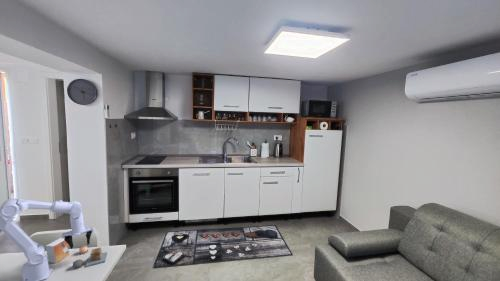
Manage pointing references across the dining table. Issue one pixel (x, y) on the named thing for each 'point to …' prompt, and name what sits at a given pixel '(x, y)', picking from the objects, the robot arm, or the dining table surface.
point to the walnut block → (96, 254)
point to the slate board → (97, 260)
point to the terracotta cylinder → (83, 250)
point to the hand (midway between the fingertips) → (80, 245)
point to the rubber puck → (77, 264)
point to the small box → (57, 250)
